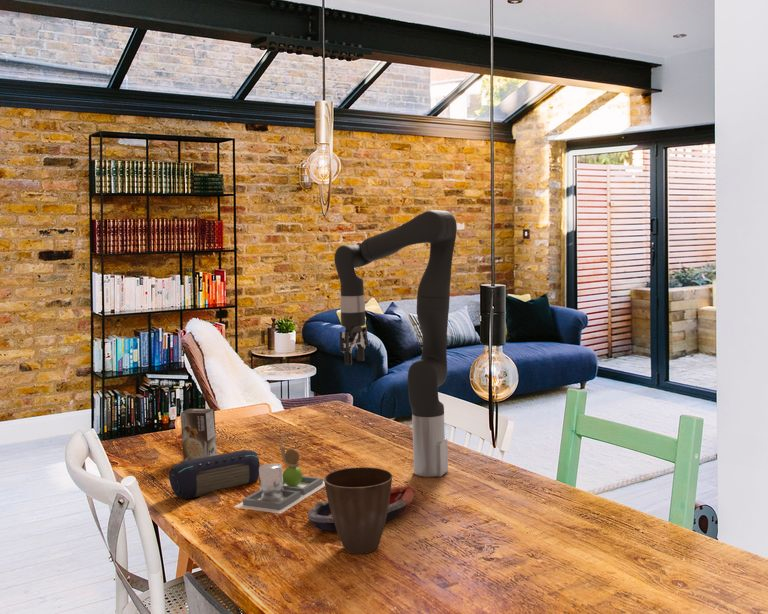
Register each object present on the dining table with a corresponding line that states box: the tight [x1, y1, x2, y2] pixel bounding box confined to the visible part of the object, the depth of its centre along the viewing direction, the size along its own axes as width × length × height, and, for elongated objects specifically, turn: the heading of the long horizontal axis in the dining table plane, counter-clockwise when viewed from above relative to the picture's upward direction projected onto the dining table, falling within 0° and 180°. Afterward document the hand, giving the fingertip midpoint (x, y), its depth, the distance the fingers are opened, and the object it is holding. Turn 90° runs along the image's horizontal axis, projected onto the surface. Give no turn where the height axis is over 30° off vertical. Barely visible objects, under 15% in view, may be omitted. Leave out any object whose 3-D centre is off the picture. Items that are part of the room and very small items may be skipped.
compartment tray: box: [233, 475, 325, 514], centre depth 203 cm, size 14×26×3 cm, turn 156°
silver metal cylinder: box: [258, 462, 284, 502], centre depth 197 cm, size 6×6×9 cm
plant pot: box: [323, 466, 393, 555], centre depth 169 cm, size 15×15×16 cm
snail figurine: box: [278, 440, 304, 486], centre depth 209 cm, size 5×6×12 cm
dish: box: [307, 485, 415, 532], centre depth 188 cm, size 16×31×5 cm, turn 124°
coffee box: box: [180, 408, 218, 461], centre depth 242 cm, size 9×6×16 cm
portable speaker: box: [168, 449, 261, 499], centre depth 212 cm, size 25×10×10 cm, turn 124°
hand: (354, 362), depth 236 cm, fingers open, 8 cm apart
